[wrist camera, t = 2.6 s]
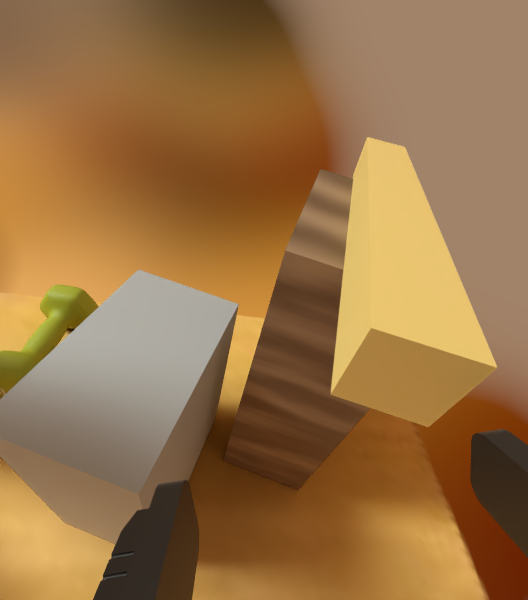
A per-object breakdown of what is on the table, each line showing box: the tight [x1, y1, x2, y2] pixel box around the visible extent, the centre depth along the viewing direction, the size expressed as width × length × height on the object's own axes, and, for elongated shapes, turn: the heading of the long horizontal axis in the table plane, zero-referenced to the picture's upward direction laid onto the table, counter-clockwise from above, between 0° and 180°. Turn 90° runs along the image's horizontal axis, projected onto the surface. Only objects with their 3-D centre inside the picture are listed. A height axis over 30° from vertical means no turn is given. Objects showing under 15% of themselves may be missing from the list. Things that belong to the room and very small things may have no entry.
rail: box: [330, 137, 497, 427], centre depth 19 cm, size 26×4×4 cm, turn 165°
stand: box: [223, 170, 370, 490], centre depth 34 cm, size 16×10×32 cm, turn 164°
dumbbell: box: [0, 285, 98, 397], centre depth 42 cm, size 16×8×7 cm, turn 176°
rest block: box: [0, 270, 238, 544], centre depth 30 cm, size 16×10×22 cm, turn 164°
